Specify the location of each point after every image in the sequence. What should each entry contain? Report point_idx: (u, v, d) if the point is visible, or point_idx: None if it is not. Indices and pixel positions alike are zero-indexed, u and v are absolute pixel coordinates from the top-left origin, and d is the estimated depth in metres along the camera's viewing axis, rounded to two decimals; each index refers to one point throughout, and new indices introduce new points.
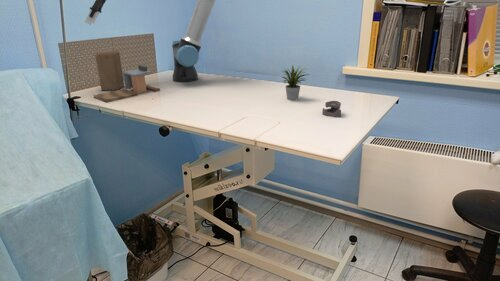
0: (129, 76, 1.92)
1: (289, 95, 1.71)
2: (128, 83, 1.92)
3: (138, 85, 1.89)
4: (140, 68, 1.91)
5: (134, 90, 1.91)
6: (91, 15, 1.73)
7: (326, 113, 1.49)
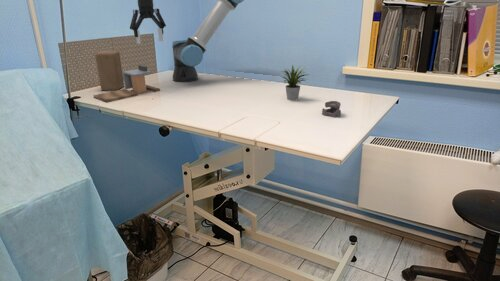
0: (129, 76, 1.92)
1: (289, 95, 1.71)
2: (128, 83, 1.92)
3: (138, 85, 1.89)
4: (140, 68, 1.91)
5: (134, 90, 1.91)
6: None
7: (326, 113, 1.48)
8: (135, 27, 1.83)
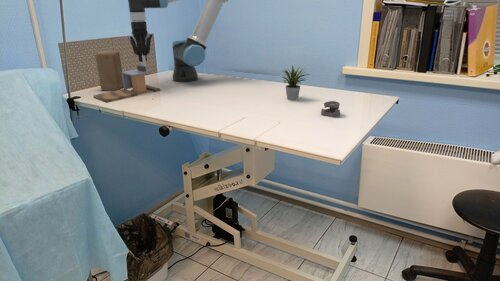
0: (128, 76, 1.91)
1: (289, 95, 1.71)
2: (127, 83, 1.92)
3: (138, 85, 1.89)
4: (139, 68, 1.90)
5: (134, 90, 1.91)
6: None
7: (325, 113, 1.48)
8: None
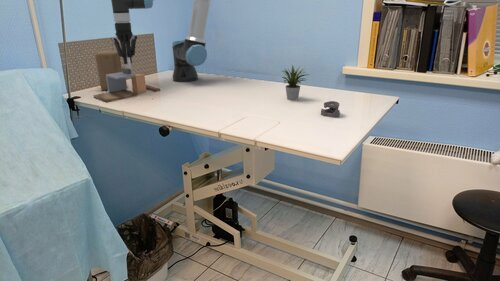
0: (112, 79, 1.85)
1: (289, 95, 1.71)
2: (111, 86, 1.86)
3: (138, 85, 1.89)
4: (124, 71, 1.85)
5: (134, 90, 1.91)
6: (125, 62, 1.83)
7: (325, 113, 1.48)
8: None
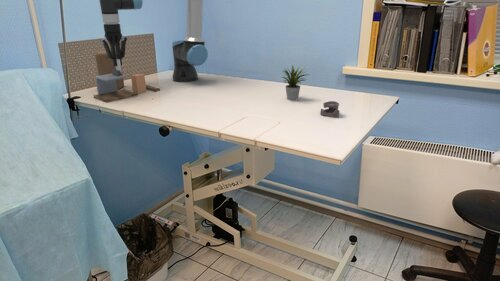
0: (102, 81, 1.82)
1: (289, 95, 1.71)
2: (101, 88, 1.82)
3: (138, 85, 1.89)
4: (114, 72, 1.81)
5: (134, 90, 1.91)
6: None
7: (324, 113, 1.48)
8: None
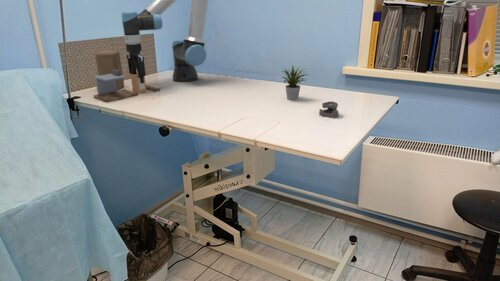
0: (102, 81, 1.82)
1: (289, 95, 1.71)
2: (101, 88, 1.82)
3: (138, 85, 1.89)
4: (113, 72, 1.81)
5: (134, 90, 1.91)
6: (142, 81, 1.88)
7: (323, 114, 1.48)
8: None
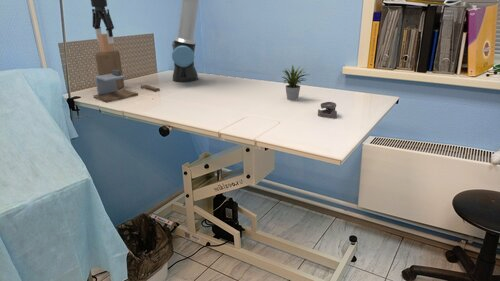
0: (102, 81, 1.82)
1: (289, 95, 1.71)
2: (101, 88, 1.82)
3: (105, 44, 1.89)
4: (113, 72, 1.81)
5: (101, 50, 1.91)
6: (111, 34, 1.85)
7: (322, 114, 1.47)
8: None
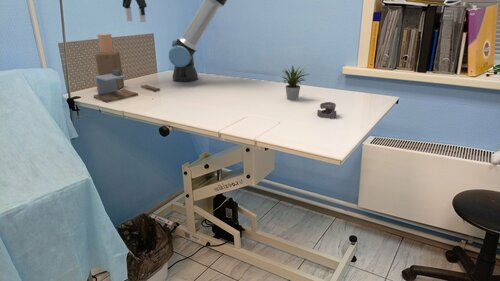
0: (102, 81, 1.82)
1: (289, 95, 1.71)
2: (101, 88, 1.82)
3: (105, 44, 1.89)
4: (113, 72, 1.81)
5: (101, 50, 1.91)
6: (143, 13, 1.85)
7: (321, 114, 1.47)
8: None
